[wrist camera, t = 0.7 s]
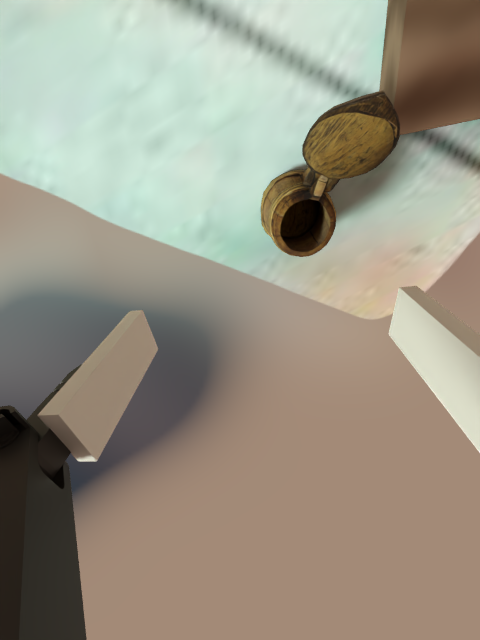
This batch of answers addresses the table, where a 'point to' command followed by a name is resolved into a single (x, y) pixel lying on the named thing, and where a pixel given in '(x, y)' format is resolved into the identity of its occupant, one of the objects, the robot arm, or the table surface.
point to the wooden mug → (328, 171)
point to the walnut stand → (432, 62)
